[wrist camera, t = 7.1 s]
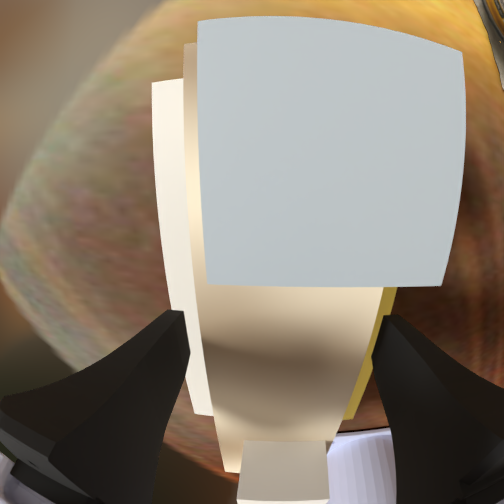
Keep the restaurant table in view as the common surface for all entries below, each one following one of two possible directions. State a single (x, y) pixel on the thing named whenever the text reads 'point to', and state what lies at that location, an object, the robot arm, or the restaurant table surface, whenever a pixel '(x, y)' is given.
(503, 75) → the condiment
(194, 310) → the dock
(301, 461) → the block
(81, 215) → the restaurant table surface
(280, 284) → the light grey square block
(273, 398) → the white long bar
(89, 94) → the restaurant table surface
